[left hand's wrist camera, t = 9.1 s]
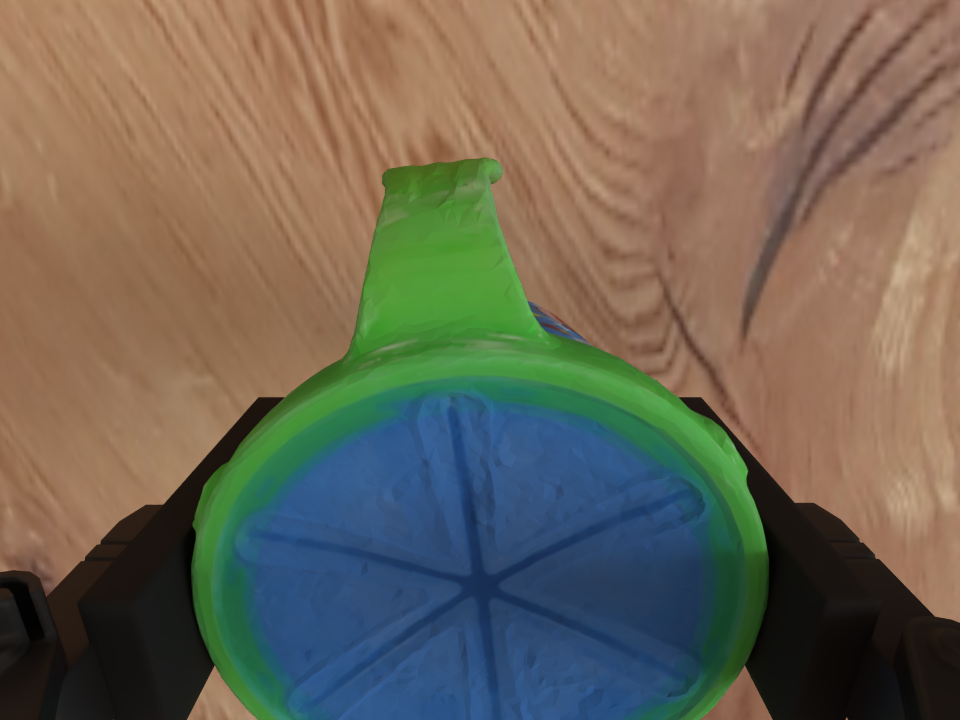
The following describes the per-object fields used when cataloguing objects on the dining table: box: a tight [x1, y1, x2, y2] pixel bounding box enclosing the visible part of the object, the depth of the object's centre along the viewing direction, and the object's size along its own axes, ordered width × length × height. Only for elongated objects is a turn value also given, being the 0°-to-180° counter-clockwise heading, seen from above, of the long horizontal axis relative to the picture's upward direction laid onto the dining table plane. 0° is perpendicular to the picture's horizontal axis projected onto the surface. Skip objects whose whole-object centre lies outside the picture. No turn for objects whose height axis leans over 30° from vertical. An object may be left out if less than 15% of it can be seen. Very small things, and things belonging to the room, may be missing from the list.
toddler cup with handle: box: [191, 158, 769, 720], centre depth 13 cm, size 14×9×9 cm
